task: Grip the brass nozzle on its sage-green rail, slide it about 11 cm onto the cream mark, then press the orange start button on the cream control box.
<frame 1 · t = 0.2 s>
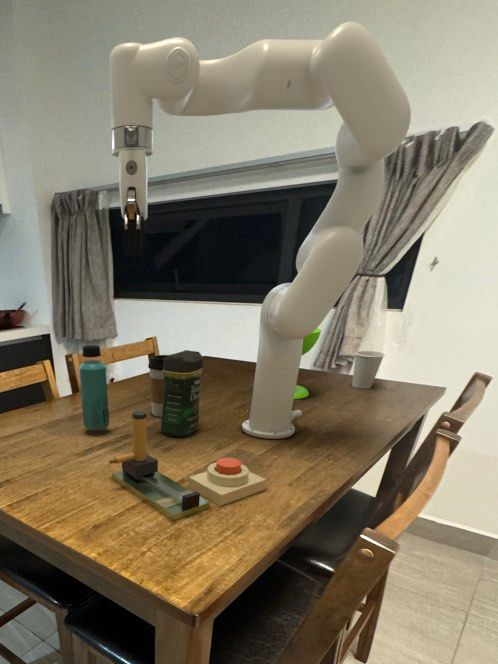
hand: (133, 255, 91), 37 cm above the table, tool pointing down, fingers open, 9 cm apart
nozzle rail: (157, 492, 83), on the table
beverage bottle: (96, 432, 112), on the table
coffee jar: (180, 432, 111), on the table
wineglass: (281, 392, 140), on the table
coffee cup: (163, 414, 123), on the table
nozzle: (130, 446, 82), point 8 cm above the table, slide at 0.0 cm
button box: (226, 488, 84), on the table
start button: (228, 466, 82), point 4 cm above the table, slide at 0.1 cm
dixie cup: (361, 386, 144), on the table
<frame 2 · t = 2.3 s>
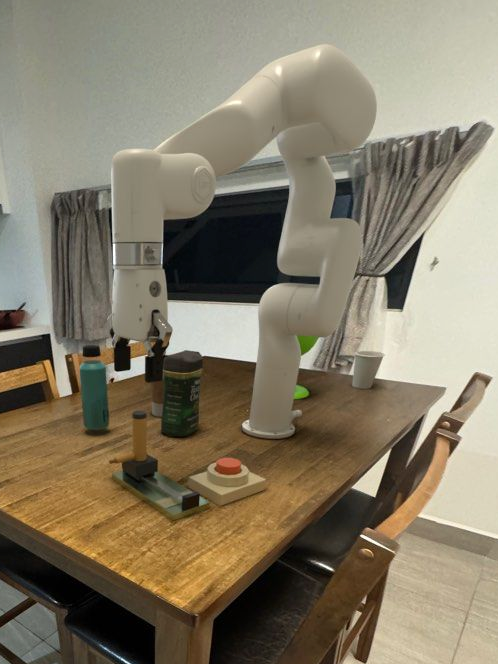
hand: (137, 375, 77), 20 cm above the table, tool pointing down, fingers open, 9 cm apart
nothing on the table moved.
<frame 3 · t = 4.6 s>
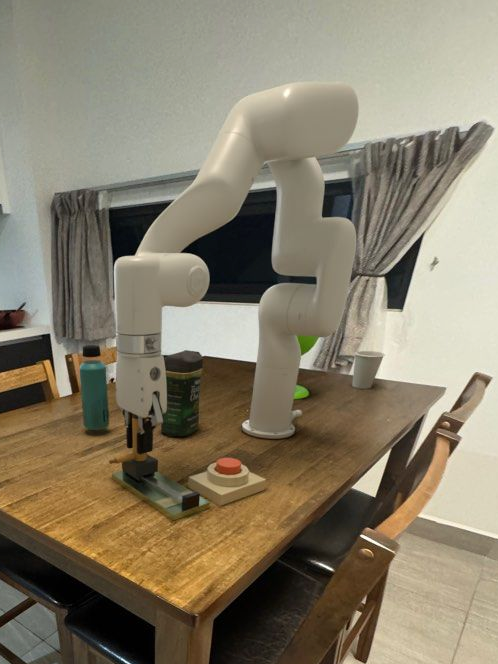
hand: (139, 448, 84), 7 cm above the table, tool pointing down, fingers closed on nozzle, 2 cm apart
nozzle: (130, 446, 82), point 8 cm above the table, slide at 0.0 cm, touching gripper
everything else where it was.
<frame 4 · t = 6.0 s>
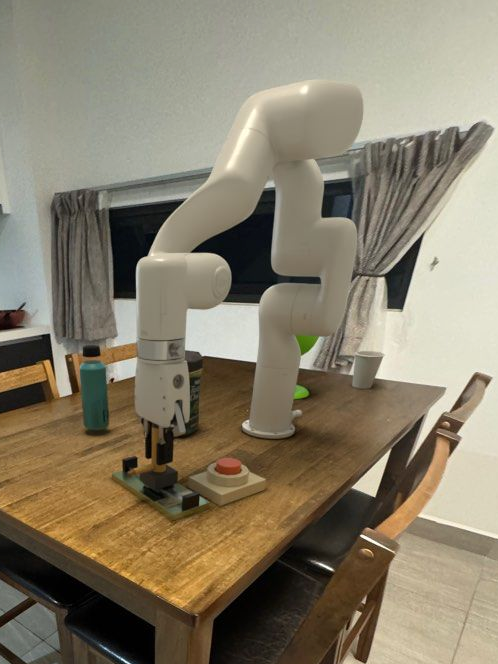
hand: (158, 459, 79), 7 cm above the table, tool pointing down, fingers closed on nozzle, 2 cm apart
nozzle: (149, 457, 78), point 8 cm above the table, slide at 6.2 cm, touching gripper
everything else where it was.
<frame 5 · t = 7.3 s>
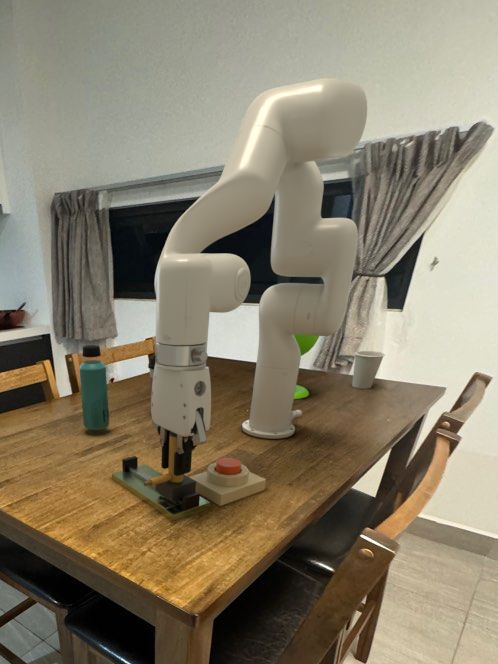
hand: (175, 469, 76), 7 cm above the table, tool pointing down, fingers closed on nozzle, 2 cm apart
nozzle: (166, 467, 74), point 8 cm above the table, slide at 11.2 cm, touching gripper
everything else where it was.
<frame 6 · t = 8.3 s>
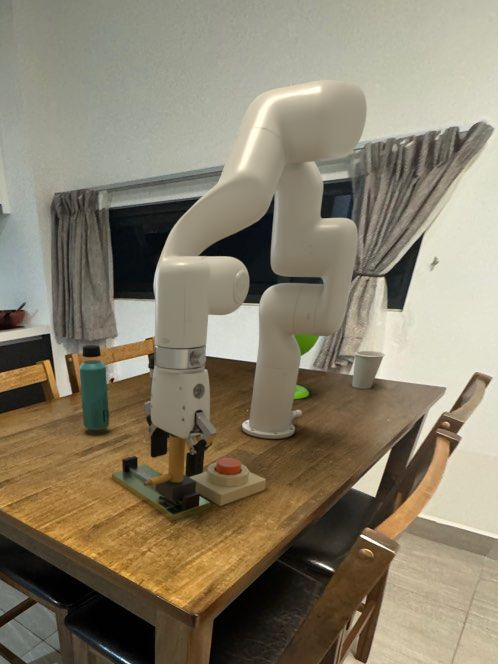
hand: (175, 464, 76), 7 cm above the table, tool pointing down, fingers open, 9 cm apart
nozzle: (166, 467, 74), point 8 cm above the table, slide at 11.2 cm
everything else where it was.
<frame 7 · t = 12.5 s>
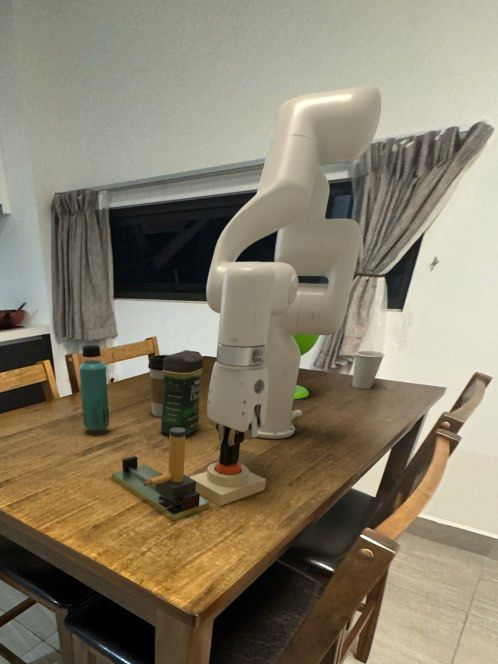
hand: (228, 463, 81), 5 cm above the table, tool pointing down, fingers closed
start button: (228, 467, 82), point 4 cm above the table, slide at 0.0 cm, touching gripper
everything else where it was.
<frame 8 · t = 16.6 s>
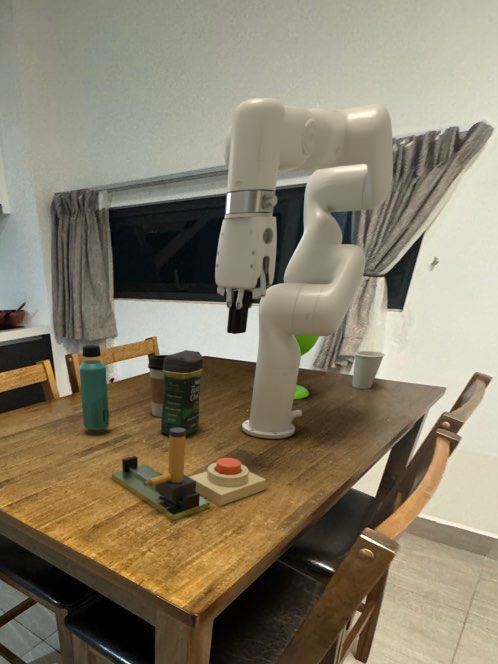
hand: (236, 332, 81), 25 cm above the table, tool pointing down, fingers closed
start button: (228, 466, 82), point 4 cm above the table, slide at 0.1 cm
everything else where it was.
at the end: nozzle slide at 11.2 cm; start button pushed in 1.1 cm at the most during the clip, back to where it started at the end; start button slide at 0.1 cm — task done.
